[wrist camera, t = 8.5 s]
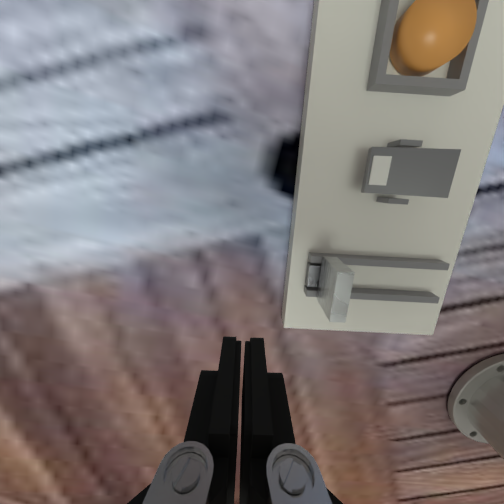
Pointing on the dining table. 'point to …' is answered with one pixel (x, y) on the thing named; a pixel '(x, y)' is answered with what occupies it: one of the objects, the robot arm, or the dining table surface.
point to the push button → (431, 35)
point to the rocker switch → (410, 171)
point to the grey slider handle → (331, 286)
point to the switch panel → (386, 135)
